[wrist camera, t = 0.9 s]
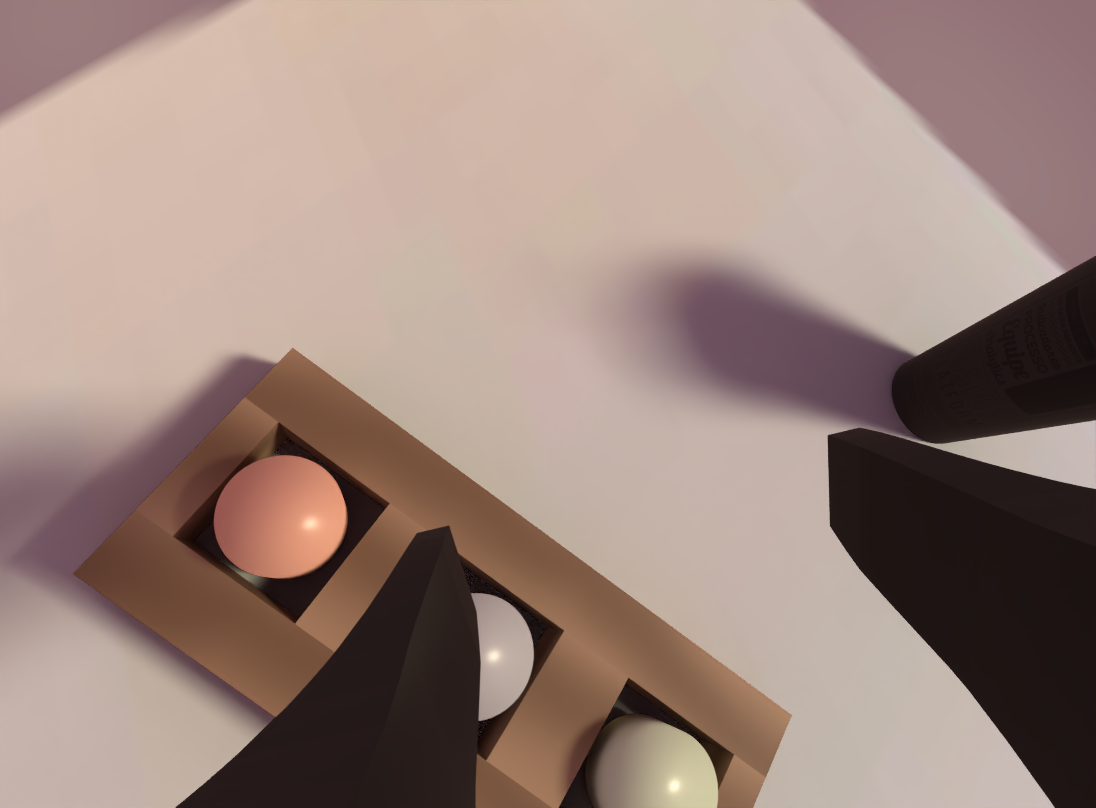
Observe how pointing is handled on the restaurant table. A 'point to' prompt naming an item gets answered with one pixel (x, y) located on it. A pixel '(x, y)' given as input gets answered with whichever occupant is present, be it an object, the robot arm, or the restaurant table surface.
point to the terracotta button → (281, 518)
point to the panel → (410, 507)
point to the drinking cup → (1009, 368)
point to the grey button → (501, 654)
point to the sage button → (649, 767)
